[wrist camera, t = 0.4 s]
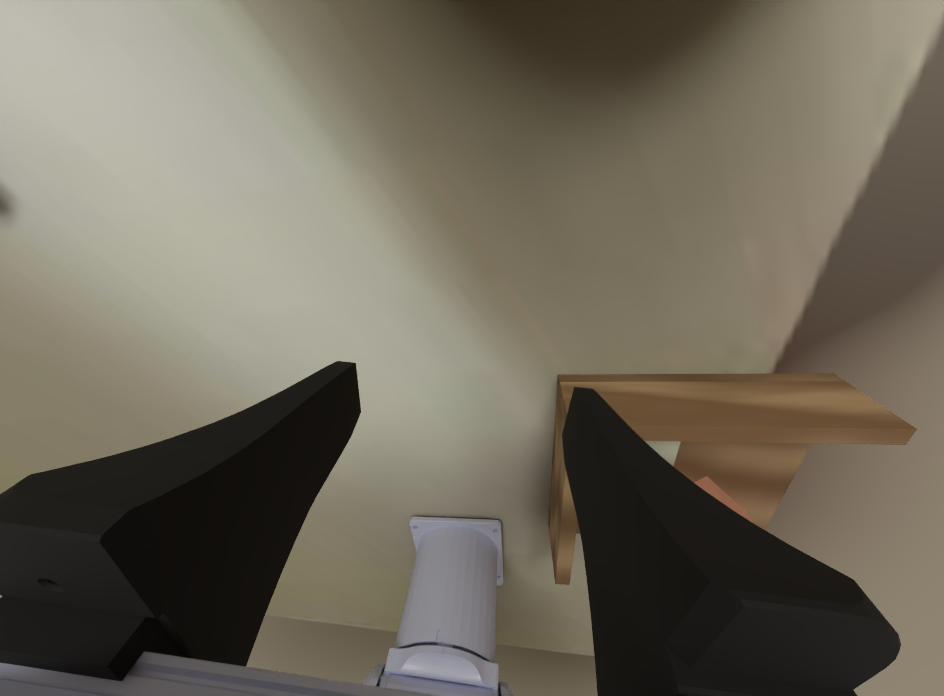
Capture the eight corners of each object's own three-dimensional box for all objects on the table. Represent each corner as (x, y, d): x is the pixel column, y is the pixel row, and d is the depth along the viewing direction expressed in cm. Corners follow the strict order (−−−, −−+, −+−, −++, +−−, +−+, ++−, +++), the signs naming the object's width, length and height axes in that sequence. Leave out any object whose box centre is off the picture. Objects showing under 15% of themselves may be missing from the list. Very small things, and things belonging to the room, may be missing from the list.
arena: (752, 531, 28) (795, 598, 24) (548, 523, 30) (555, 583, 25) (834, 373, 21) (916, 429, 16) (558, 374, 22) (569, 425, 18)
